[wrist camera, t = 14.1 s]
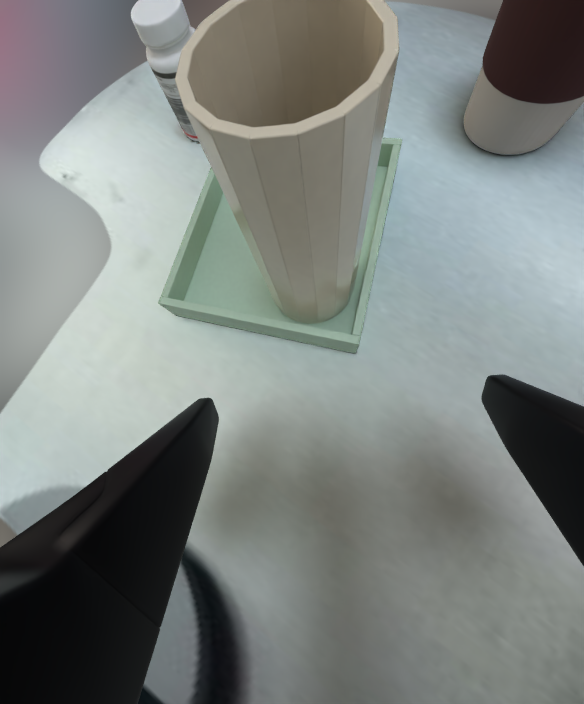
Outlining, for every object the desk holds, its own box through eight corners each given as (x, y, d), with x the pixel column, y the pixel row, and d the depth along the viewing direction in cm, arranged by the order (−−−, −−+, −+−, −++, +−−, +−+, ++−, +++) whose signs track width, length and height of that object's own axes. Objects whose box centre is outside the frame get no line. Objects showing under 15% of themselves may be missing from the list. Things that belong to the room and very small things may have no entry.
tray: (355, 353, 20) (359, 344, 17) (175, 315, 23) (157, 303, 20) (394, 167, 23) (402, 138, 21) (235, 154, 26) (225, 127, 24)
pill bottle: (218, 101, 28) (175, -25, 20) (234, 129, 27) (194, 7, 19) (178, 121, 28) (119, 3, 20) (192, 150, 27) (134, 37, 19)
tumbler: (366, 306, 20) (442, 74, 7) (287, 335, 20) (203, 172, 7) (335, 238, 22) (344, -52, 8) (262, 267, 22) (158, 29, 9)
